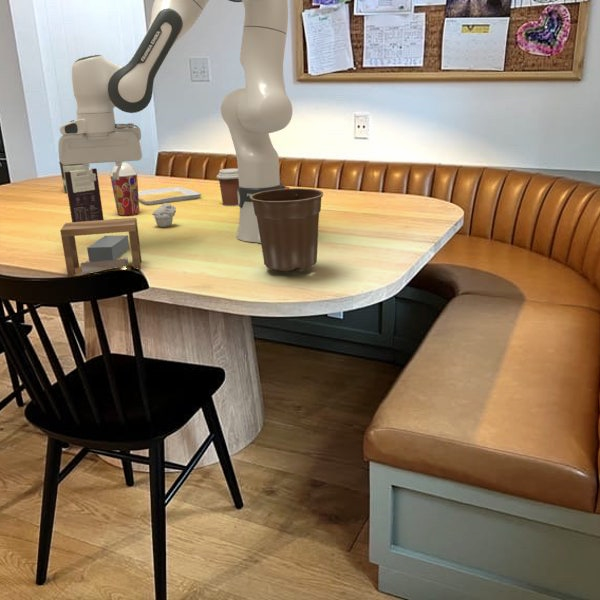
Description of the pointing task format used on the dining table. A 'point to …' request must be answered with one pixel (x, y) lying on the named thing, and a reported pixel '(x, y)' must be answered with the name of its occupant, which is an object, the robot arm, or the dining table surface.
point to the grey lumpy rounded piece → (164, 215)
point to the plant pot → (288, 226)
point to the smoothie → (126, 190)
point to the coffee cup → (229, 186)
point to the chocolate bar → (83, 196)
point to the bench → (99, 228)
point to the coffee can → (67, 169)
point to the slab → (108, 248)
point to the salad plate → (187, 192)
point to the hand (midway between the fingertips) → (104, 180)
